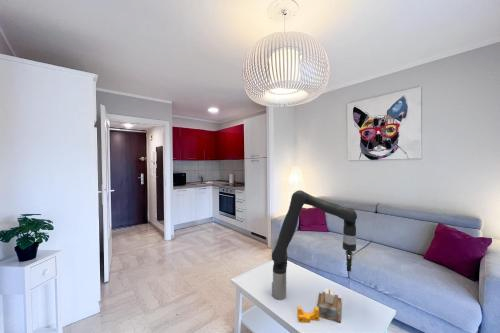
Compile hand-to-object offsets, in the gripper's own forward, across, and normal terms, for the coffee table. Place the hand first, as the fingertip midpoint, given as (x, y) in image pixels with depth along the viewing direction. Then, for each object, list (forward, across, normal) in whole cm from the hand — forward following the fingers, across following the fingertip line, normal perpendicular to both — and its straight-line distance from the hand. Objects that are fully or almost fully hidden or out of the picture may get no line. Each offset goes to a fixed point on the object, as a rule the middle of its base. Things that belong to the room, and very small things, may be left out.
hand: (348, 267), depth 130 cm
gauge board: (+28, +1, -11) cm, 30 cm away
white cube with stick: (+26, -4, -11) cm, 29 cm away
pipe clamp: (+28, +17, -21) cm, 39 cm away
